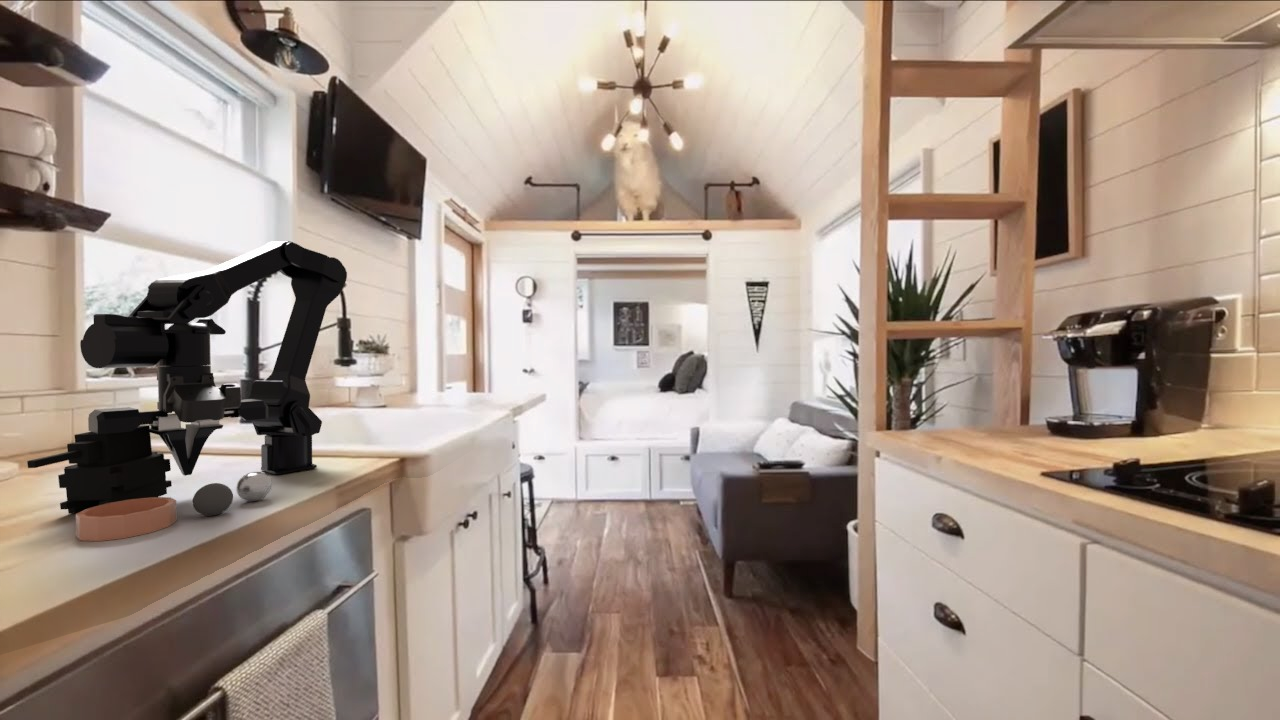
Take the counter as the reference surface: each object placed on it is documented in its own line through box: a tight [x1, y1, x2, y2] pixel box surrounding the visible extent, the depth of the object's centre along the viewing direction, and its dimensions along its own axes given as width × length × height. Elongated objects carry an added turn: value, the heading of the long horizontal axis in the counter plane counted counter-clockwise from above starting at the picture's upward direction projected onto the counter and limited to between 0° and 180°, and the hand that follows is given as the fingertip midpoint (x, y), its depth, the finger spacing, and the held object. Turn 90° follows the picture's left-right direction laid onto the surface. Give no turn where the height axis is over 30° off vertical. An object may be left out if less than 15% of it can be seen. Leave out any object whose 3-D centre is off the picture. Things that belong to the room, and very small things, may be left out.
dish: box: [75, 496, 178, 542], centre depth 62 cm, size 8×8×2 cm
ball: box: [192, 482, 234, 517], centre depth 67 cm, size 4×4×4 cm
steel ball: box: [235, 471, 273, 502], centre depth 73 cm, size 4×4×4 cm
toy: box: [26, 424, 172, 514], centre depth 68 cm, size 8×14×10 cm, turn 179°
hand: (186, 474), depth 75 cm, fingers closed
